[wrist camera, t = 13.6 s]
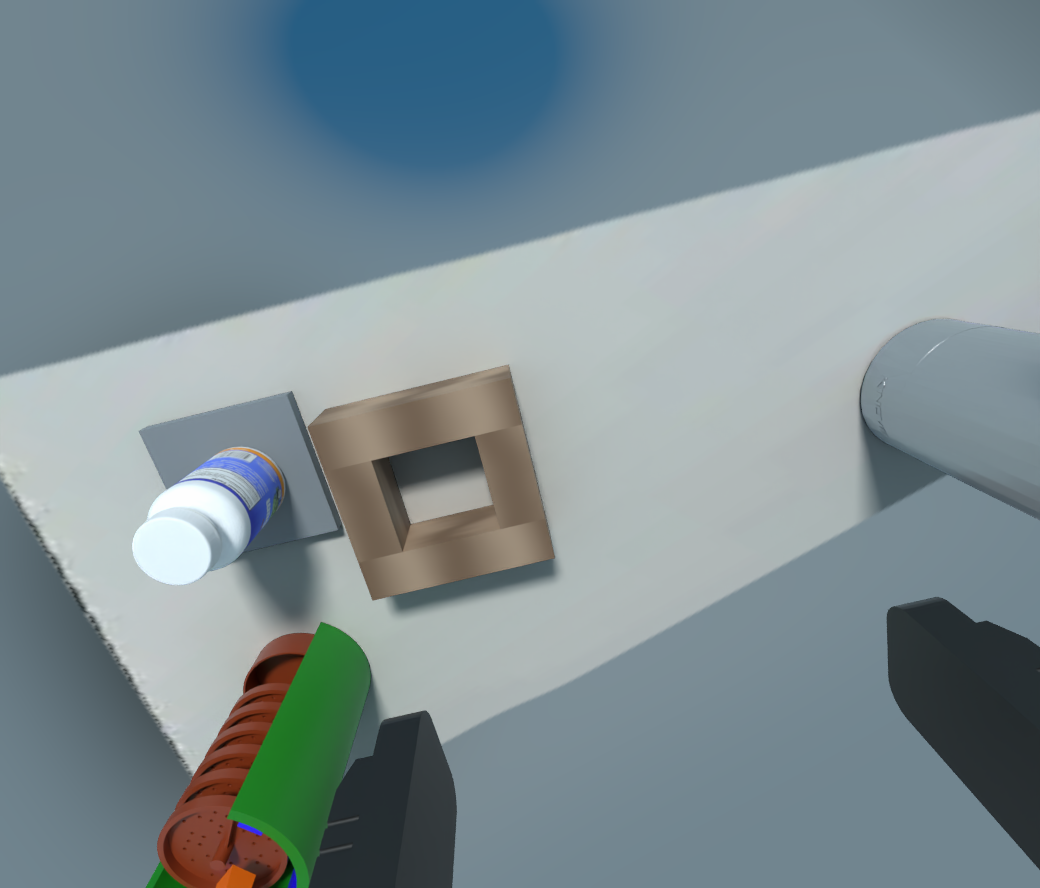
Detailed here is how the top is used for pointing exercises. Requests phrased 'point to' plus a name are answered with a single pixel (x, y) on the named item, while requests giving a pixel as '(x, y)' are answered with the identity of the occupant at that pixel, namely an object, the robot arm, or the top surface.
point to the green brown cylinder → (270, 770)
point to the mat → (264, 429)
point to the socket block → (446, 540)
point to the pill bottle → (209, 516)
